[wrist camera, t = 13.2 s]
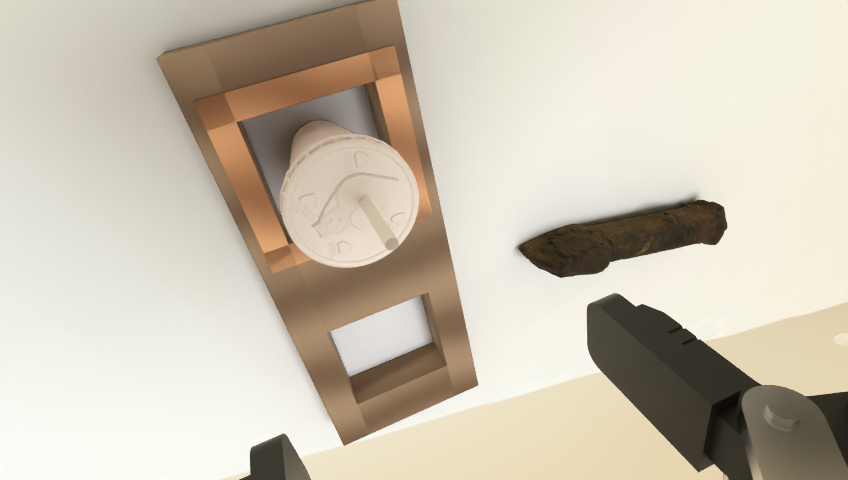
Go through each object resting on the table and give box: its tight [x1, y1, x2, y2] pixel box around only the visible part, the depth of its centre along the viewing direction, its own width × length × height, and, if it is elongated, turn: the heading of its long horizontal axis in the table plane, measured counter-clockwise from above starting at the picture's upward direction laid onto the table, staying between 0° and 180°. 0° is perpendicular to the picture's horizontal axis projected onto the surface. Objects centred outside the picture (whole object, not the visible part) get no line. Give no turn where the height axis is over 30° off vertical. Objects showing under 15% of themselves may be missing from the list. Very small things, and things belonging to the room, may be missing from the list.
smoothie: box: [280, 120, 419, 268], centre depth 23 cm, size 6×6×14 cm
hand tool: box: [519, 200, 727, 278], centre depth 39 cm, size 19×4×5 cm, turn 88°
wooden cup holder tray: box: [157, 0, 478, 446], centre depth 32 cm, size 30×12×3 cm, turn 13°
